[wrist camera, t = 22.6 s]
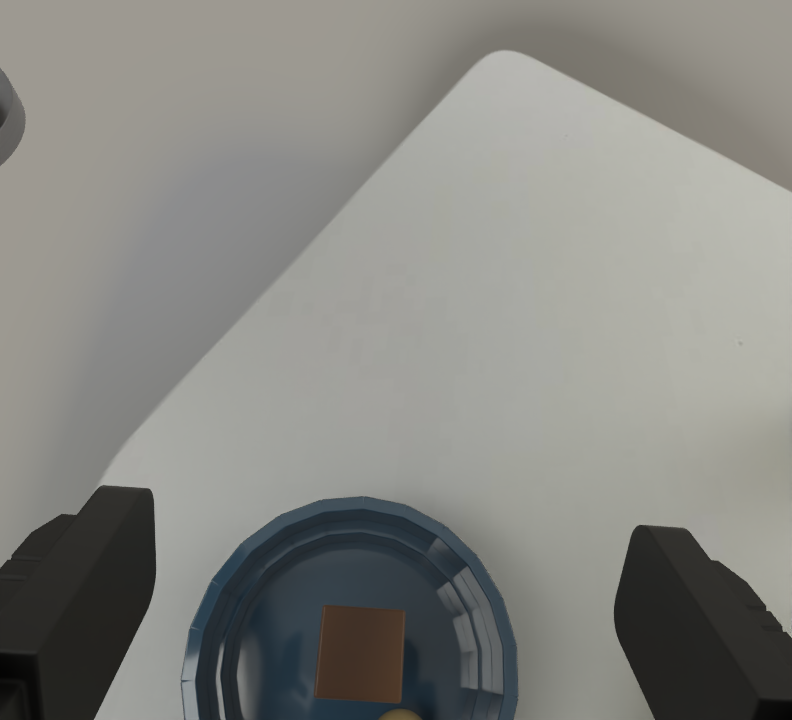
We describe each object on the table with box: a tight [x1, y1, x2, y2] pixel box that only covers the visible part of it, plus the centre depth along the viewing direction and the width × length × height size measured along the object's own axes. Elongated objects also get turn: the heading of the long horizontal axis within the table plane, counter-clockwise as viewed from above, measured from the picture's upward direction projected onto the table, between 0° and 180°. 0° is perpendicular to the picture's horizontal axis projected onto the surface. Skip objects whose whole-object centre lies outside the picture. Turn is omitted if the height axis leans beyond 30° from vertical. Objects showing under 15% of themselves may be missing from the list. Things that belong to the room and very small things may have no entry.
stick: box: [314, 605, 406, 703], centre depth 24 cm, size 2×2×13 cm
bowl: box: [181, 496, 518, 720], centre depth 28 cm, size 13×13×5 cm
